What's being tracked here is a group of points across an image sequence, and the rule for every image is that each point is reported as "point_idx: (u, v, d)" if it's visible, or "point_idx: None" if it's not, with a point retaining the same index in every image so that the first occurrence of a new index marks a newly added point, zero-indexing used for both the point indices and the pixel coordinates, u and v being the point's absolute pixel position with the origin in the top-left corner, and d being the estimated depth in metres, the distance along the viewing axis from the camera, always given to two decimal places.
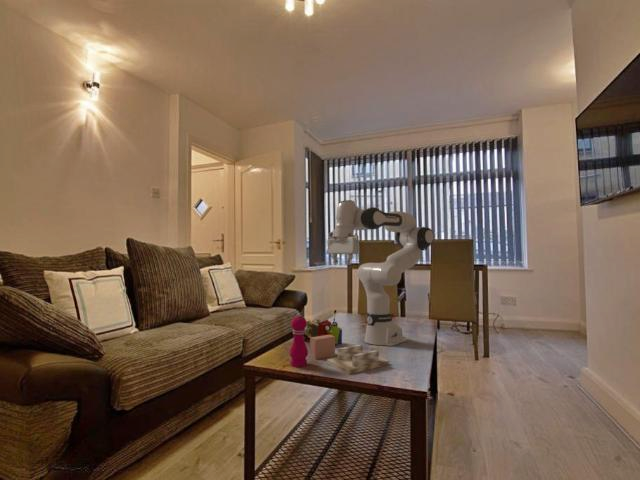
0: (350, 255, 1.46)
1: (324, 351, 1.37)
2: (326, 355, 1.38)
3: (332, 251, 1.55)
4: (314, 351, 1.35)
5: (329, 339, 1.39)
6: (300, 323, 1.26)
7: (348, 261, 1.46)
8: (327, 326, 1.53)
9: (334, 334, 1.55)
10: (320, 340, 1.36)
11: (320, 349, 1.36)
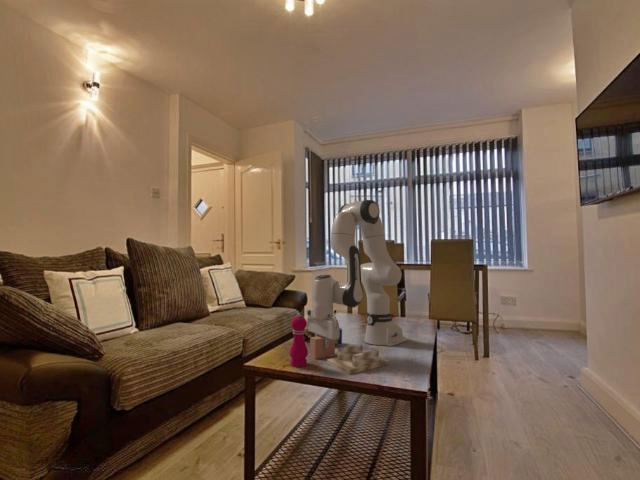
0: (328, 339, 1.35)
1: (324, 351, 1.37)
2: (326, 355, 1.38)
3: (312, 330, 1.43)
4: (314, 351, 1.35)
5: None
6: (300, 323, 1.26)
7: (326, 345, 1.36)
8: None
9: None
10: (320, 340, 1.36)
11: (320, 349, 1.36)
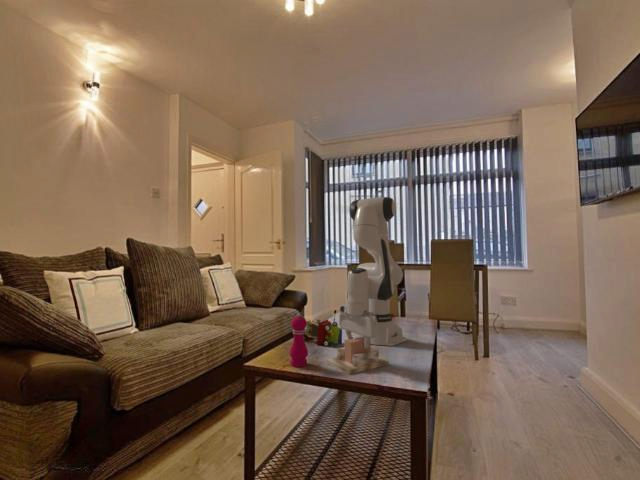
0: (368, 338, 1.24)
1: None
2: None
3: (345, 328, 1.33)
4: (350, 354, 1.25)
5: None
6: (300, 323, 1.26)
7: (366, 344, 1.25)
8: (327, 326, 1.53)
9: (334, 334, 1.55)
10: (356, 343, 1.26)
11: (355, 353, 1.26)
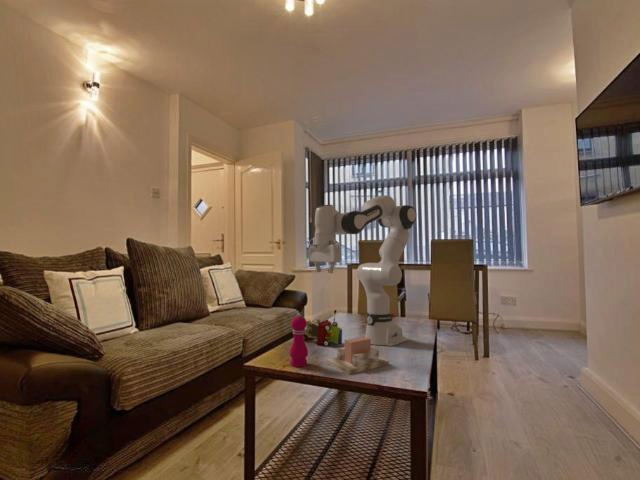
0: (332, 264, 1.38)
1: None
2: None
3: (314, 259, 1.47)
4: (350, 354, 1.25)
5: (365, 342, 1.29)
6: (300, 323, 1.26)
7: (330, 270, 1.39)
8: (327, 326, 1.53)
9: (334, 334, 1.55)
10: (356, 343, 1.26)
11: (355, 353, 1.26)
